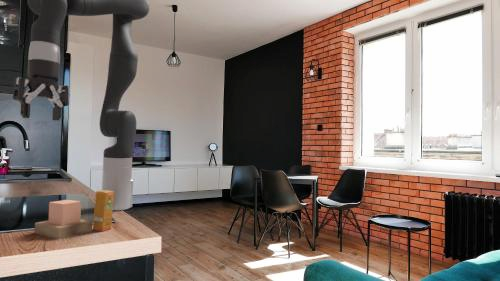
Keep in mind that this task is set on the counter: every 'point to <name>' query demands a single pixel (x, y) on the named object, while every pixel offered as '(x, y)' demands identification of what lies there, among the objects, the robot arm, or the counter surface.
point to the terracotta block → (64, 212)
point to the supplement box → (103, 210)
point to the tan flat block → (62, 229)
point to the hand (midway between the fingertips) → (41, 119)
